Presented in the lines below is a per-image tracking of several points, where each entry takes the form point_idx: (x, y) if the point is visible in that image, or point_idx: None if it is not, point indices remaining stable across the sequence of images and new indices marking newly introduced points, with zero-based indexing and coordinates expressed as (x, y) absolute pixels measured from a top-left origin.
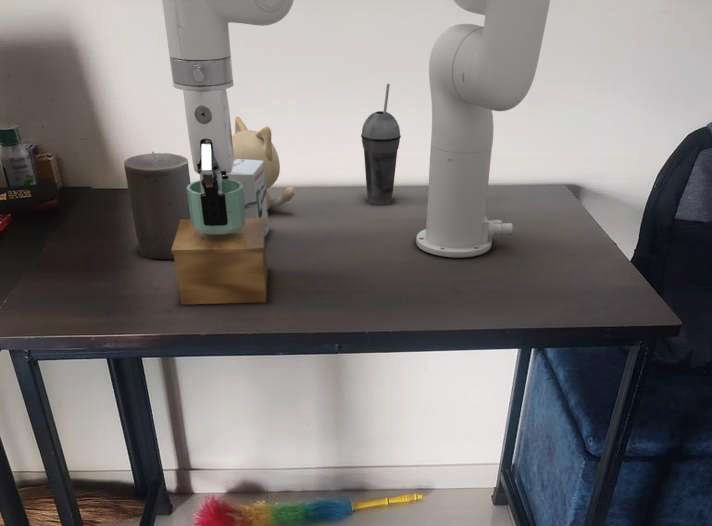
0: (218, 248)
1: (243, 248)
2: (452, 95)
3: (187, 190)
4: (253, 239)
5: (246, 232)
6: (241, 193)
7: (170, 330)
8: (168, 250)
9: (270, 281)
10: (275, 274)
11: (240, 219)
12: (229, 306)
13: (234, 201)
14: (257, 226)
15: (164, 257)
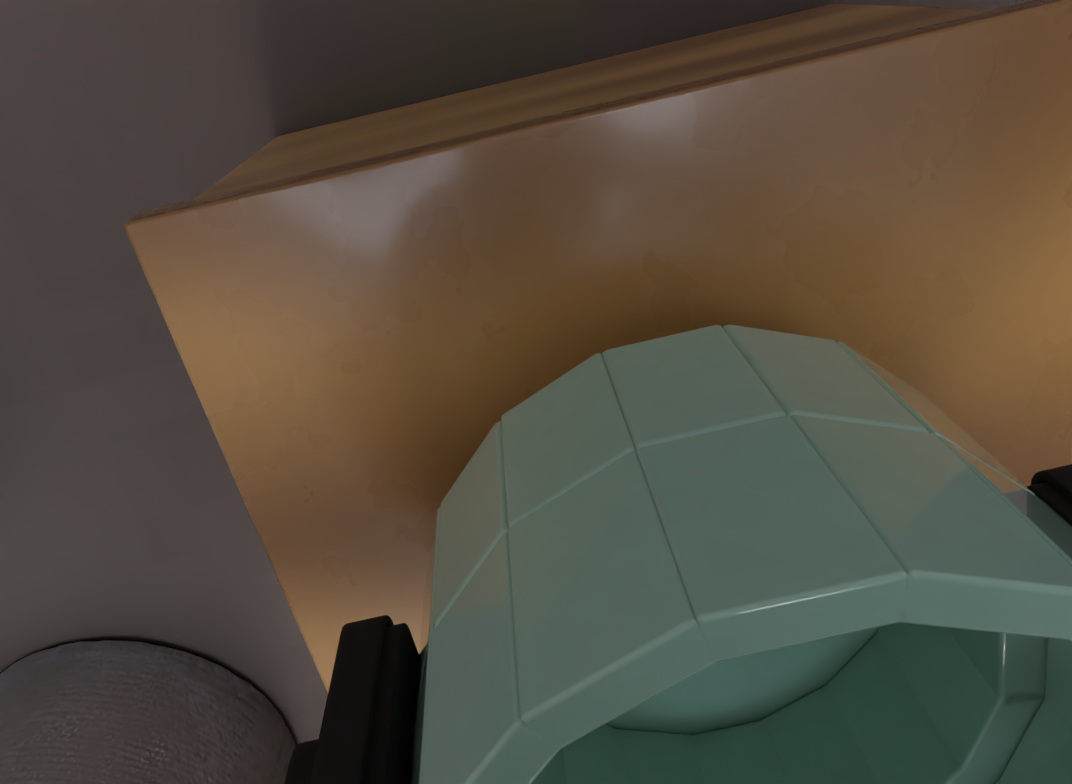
0: (1069, 425)
1: None
2: None
3: None
4: (842, 170)
5: (634, 297)
6: (919, 524)
7: None
8: (272, 758)
9: (467, 63)
10: (331, 55)
11: (870, 372)
12: None
13: (1065, 536)
14: (432, 231)
15: (293, 746)
